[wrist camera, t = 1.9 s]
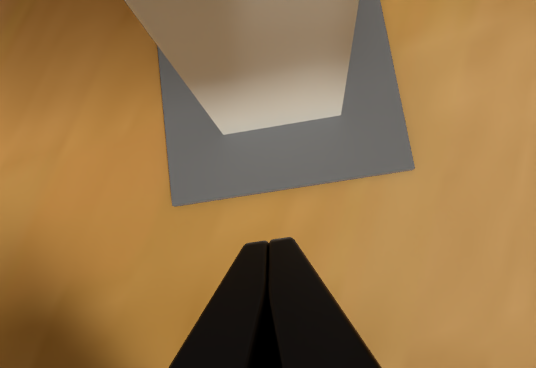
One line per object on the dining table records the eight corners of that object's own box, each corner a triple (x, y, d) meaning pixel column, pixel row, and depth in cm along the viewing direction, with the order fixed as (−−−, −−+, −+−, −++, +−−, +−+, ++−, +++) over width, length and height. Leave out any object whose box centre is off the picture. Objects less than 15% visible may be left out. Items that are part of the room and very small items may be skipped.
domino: (340, 115, 21) (369, -63, 10) (223, 134, 22) (115, -12, 10) (335, 85, 22) (356, -123, 10) (219, 105, 22) (110, -70, 11)
